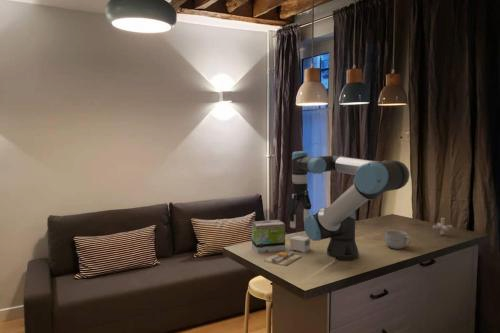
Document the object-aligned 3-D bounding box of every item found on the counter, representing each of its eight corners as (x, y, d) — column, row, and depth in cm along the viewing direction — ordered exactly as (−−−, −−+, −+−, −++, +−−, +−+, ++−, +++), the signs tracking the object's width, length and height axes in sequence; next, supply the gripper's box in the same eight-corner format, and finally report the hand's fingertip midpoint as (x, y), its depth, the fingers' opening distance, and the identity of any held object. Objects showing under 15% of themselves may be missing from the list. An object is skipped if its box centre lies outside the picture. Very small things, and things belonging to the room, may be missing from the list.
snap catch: (288, 255, 182) (288, 253, 182) (284, 257, 180) (284, 255, 180) (281, 254, 185) (281, 251, 184) (277, 255, 182) (277, 253, 182)
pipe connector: (446, 232, 223) (447, 215, 222) (455, 237, 214) (456, 220, 212) (429, 233, 224) (429, 216, 223) (437, 238, 214) (437, 220, 213)
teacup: (380, 245, 203) (380, 230, 202) (397, 243, 206) (397, 228, 206) (398, 253, 190) (399, 237, 189) (416, 250, 193) (417, 235, 193)
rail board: (301, 259, 185) (301, 253, 184) (286, 268, 173) (286, 262, 173) (280, 254, 192) (280, 249, 191) (264, 262, 180) (264, 257, 180)
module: (310, 251, 196) (310, 237, 195) (304, 254, 191) (304, 240, 190) (296, 248, 200) (296, 235, 200) (290, 251, 196) (290, 238, 195)
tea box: (257, 255, 191) (256, 225, 190) (251, 249, 201) (251, 221, 200) (285, 252, 195) (285, 223, 194) (279, 246, 205) (278, 218, 204)
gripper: (305, 179, 204) (305, 218, 207) (279, 185, 184) (280, 229, 187) (318, 180, 200) (317, 220, 202) (293, 186, 180) (293, 231, 182)
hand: (299, 224), depth 194 cm, fingers open, 13 cm apart
